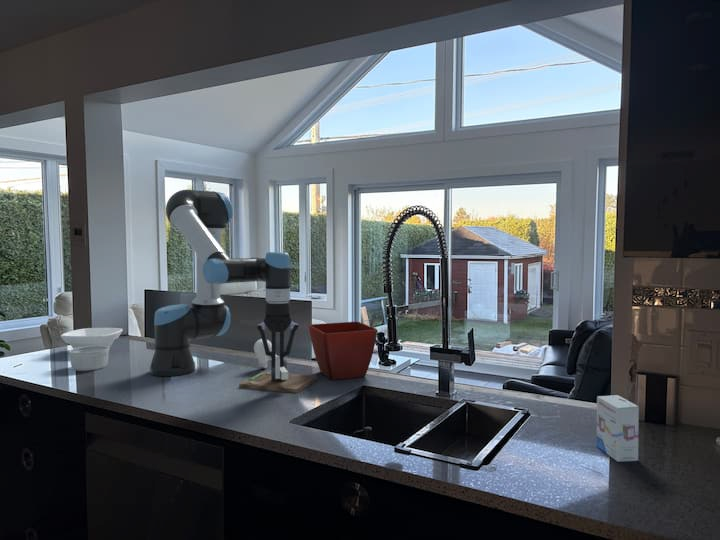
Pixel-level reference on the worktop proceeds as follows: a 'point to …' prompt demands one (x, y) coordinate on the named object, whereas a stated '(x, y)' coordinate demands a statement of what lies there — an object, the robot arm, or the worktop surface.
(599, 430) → the ink box
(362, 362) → the plant pot
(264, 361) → the light bulb
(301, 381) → the board
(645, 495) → the worktop surface
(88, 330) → the bowl
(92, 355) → the ramekin
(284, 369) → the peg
